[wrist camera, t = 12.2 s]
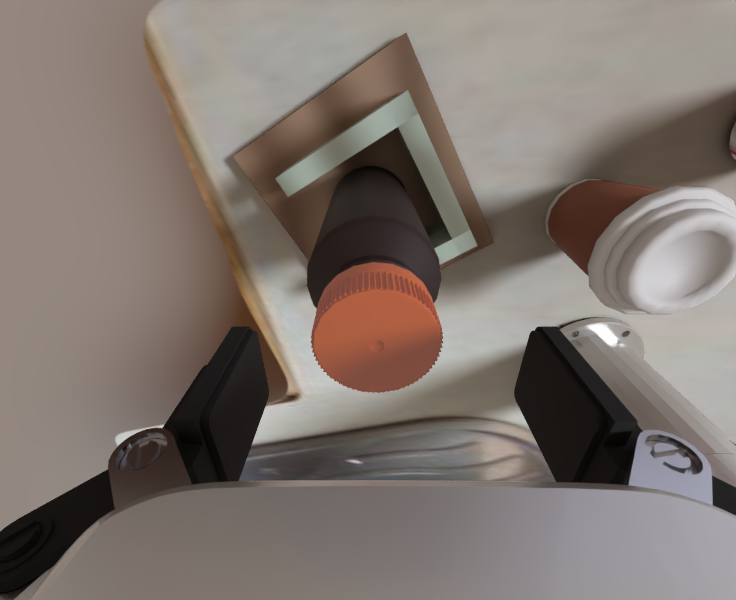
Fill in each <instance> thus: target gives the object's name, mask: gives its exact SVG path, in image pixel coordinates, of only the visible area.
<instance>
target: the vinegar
mask: <svg viewBox="0 0 736 600" xmlns="http://www.w3.org/2000/svg"><path fill="white" fill-rule="evenodd" d="M440 283H441V272H440V264H439V258H438V256H437V254H436V251H435V249H434V247H433V245H432V243H431V241H430V239H429V237H428V235H427V233H426V231H425V228H424V226H423V224H422V222H421V220H420V218H419V216H418V214H417V212H416V210H415V207H414V205H413V203H412V201H411V199H410V197H409V195H408V193H407V191H406V189H405V187H404V185H403V183H402V181H401V180H400V179H399V178H398V177H397V176H396V175H395V174H394V173H392V172H390V171H388V170H386V169H384V168H382V167H375V166H365V167H360V168H356V169H354V170H353V171H351V172H349V173H348V174H346V175H345V176H344V177H343V178H342V179H341V180H340V182H339V183H338V184H337V185H336V188H335V191H334V193H333V196H332V199H331V201H330V204H329V207H328V210H327V213H326V215H325V218H324V221H323V224H322V227H321V229H320V232H319V235H318V238H317V240H316V243H315V246H314V249H313V252H312V254H311V257H310V260H309V263H308V266H307V287H308V290H309V293H310V296H311V299H312V302H313V304H314V306H315V307H316V308H317V311H316V317H315V321H314V325H313V330H312V336H311V339H312V340H311V343H312V348H313V351H312V352H315V353H314V357H316V361H318V365H320V366H321V368H323V369H324V372H326V373H327V375H329V376H330V377H331V378H333V379H334V380H335V381H337V382H339V384H340V383H341V384H342V385H343V386H346V387H348V388H349V387H350V388H353V389H356V390H358V391H363V392H364V391H365V392H373V393H374V392H378V393H379V392H386V391H388V392H389V391H392V390H393V391H394V390H398V389H400V388H402V387H403V388H404V387H405V386H407V385H408V386H409V385H410V384H413V383H414V382H415V381H418V379H419V378H422V376H423V375H426V373H427V372H429V369H430V368H432V365H435V361H437V357H439V352H441V350H440V348H442V345H441V343H443V341H442V339H443V336H442V334H443V333H442V330H441V329H442V328H441V325H440V321H439V318H438V315H437V312H436V310H435V306H434V302H435V300H436V299H437V295H438V291H439V287H440Z"/></svg>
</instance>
